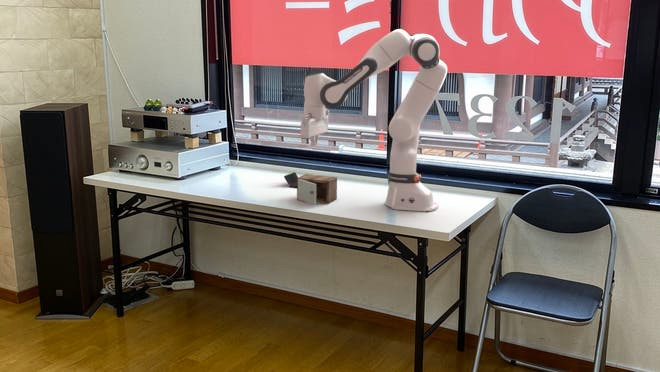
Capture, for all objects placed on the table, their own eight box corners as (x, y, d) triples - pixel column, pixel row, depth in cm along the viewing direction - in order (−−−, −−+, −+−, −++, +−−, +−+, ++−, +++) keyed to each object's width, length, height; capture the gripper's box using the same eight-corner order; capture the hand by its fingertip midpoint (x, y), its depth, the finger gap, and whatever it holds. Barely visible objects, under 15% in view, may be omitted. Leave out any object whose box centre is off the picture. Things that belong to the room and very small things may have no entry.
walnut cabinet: (336, 199, 280) (337, 177, 277) (328, 203, 271) (329, 181, 269) (305, 195, 285) (305, 174, 283) (297, 200, 277) (297, 177, 275)
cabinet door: (316, 204, 267) (316, 184, 265) (312, 205, 266) (312, 184, 264) (299, 198, 276) (299, 179, 274) (295, 199, 275) (296, 179, 273)
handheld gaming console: (305, 185, 298) (293, 168, 299) (293, 194, 300) (281, 176, 301) (312, 184, 309) (301, 167, 310) (300, 192, 311) (289, 175, 312)
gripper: (311, 115, 253) (310, 149, 256) (330, 110, 271) (330, 142, 274) (296, 114, 255) (296, 148, 258) (317, 110, 273) (317, 141, 276)
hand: (314, 145), depth 266 cm, fingers closed
